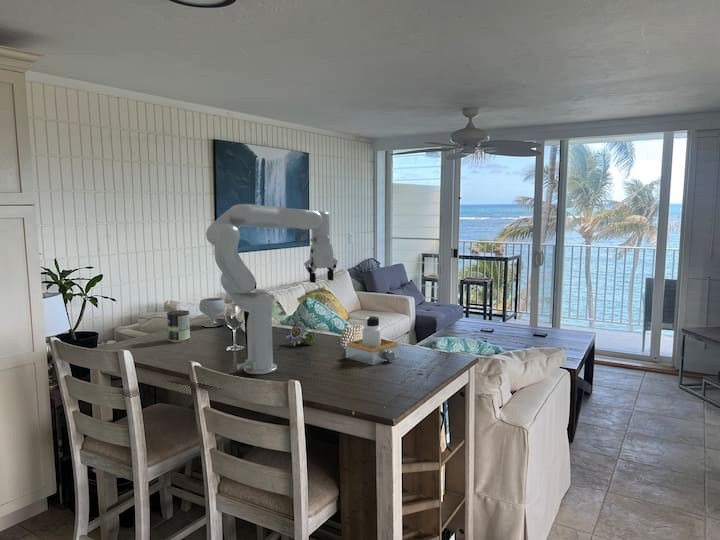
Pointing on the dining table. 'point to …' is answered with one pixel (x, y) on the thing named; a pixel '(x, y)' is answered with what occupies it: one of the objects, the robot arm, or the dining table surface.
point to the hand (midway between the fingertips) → (321, 281)
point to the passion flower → (300, 335)
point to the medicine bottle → (371, 332)
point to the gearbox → (372, 351)
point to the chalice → (212, 307)
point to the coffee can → (178, 325)
